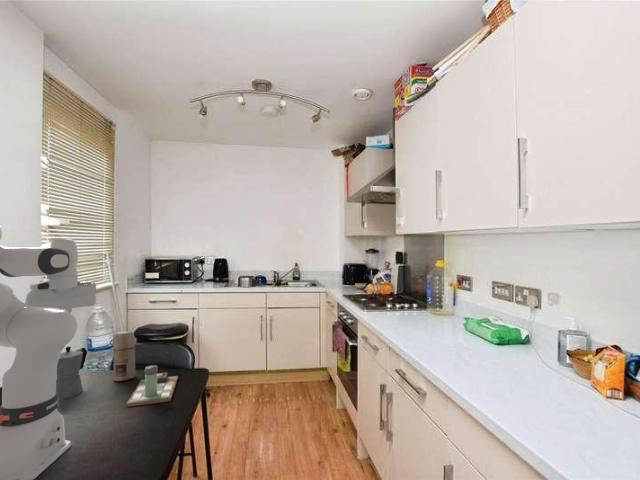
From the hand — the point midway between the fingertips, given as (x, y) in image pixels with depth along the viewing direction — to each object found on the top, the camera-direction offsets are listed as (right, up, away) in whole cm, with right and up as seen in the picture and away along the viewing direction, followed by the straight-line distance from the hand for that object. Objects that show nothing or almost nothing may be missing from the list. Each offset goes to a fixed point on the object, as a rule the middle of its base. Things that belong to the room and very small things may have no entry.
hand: (62, 321), depth 120 cm
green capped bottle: (+31, -27, +2) cm, 41 cm away
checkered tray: (+29, -29, +9) cm, 42 cm away
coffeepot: (-3, -30, +8) cm, 31 cm away
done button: (+27, -28, +16) cm, 42 cm away
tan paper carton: (+9, -30, +23) cm, 39 cm away
